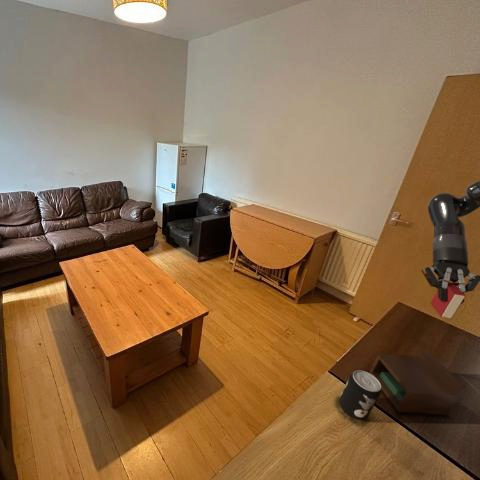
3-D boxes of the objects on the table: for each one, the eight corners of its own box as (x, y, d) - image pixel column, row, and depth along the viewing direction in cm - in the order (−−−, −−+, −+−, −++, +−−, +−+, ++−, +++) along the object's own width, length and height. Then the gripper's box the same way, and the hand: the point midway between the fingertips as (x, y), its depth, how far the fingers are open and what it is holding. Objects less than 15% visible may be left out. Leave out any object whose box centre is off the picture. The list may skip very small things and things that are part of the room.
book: (440, 305, 84) (453, 282, 80) (451, 319, 79) (466, 296, 75) (430, 303, 85) (442, 281, 81) (440, 316, 80) (454, 293, 76)
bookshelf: (409, 374, 79) (425, 348, 74) (446, 414, 68) (467, 388, 63) (368, 372, 79) (381, 346, 75) (398, 411, 69) (415, 385, 64)
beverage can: (342, 417, 68) (356, 388, 62) (334, 394, 73) (347, 366, 68) (371, 425, 66) (388, 396, 61) (361, 401, 71) (376, 372, 66)
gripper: (428, 243, 82) (429, 295, 78) (489, 250, 77) (493, 307, 72) (415, 250, 89) (414, 298, 84) (470, 257, 83) (472, 310, 79)
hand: (451, 302), depth 78 cm, fingers closed on book, 2 cm apart
